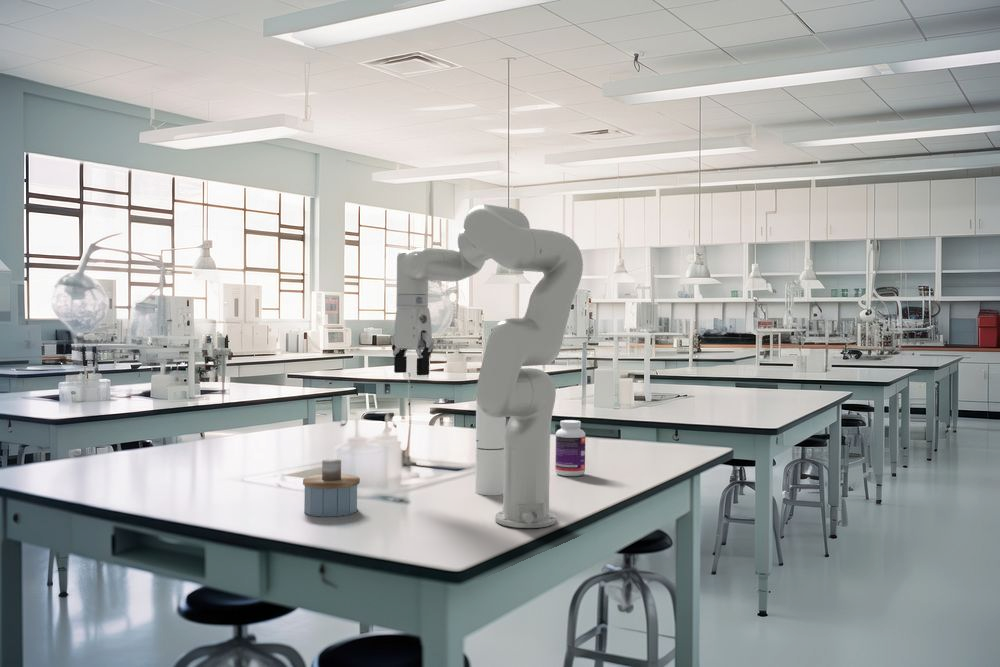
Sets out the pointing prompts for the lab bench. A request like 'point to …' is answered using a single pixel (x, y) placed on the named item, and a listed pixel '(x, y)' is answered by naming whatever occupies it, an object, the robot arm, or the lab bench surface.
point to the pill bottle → (570, 449)
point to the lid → (331, 477)
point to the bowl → (330, 501)
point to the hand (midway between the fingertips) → (411, 373)
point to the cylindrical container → (489, 453)
